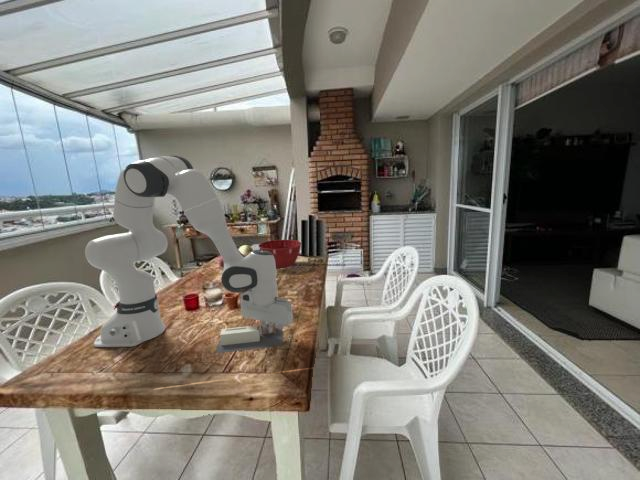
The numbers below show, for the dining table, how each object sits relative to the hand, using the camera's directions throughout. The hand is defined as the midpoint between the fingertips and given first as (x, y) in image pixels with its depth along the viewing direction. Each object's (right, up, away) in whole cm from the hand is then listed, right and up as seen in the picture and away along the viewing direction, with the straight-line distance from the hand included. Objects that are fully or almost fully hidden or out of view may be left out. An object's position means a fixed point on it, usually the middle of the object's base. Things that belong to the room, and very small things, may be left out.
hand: (268, 331), depth 102 cm
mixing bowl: (-7, +15, +91) cm, 92 cm away
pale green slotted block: (-9, -2, -2) cm, 10 cm away
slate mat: (-6, -2, 0) cm, 6 cm away
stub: (0, -1, +4) cm, 4 cm away
